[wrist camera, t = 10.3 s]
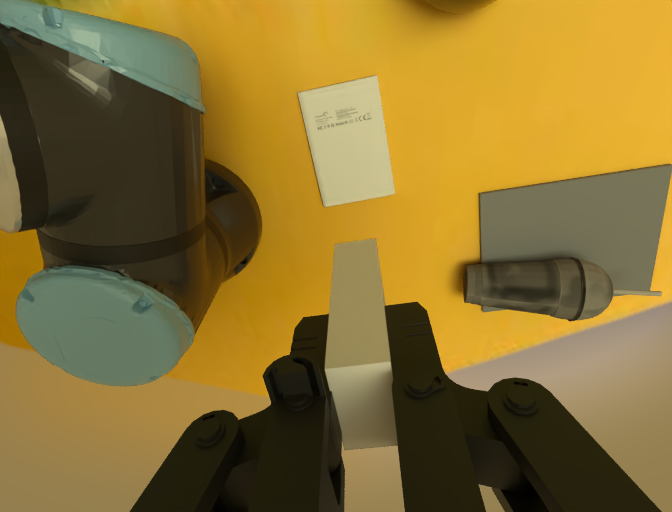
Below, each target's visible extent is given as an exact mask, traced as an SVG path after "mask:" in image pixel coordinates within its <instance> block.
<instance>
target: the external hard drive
mask: <svg viewBox="0 0 672 512" xmlns="http://www.w3.org/2000/svg"><path fill="white" fill-rule="evenodd" d="M298 97H299V101H300V105H301V110H302V115H303V119H304V123H305V128H306V132H307V137H308V141H309V145H310V149H311V154H312V158H313V162H314V167H315V171H316V175H317V180H318V184H319V188H320V192H321V197H322V201H323V205H324V207H329V206H334V205H340V204H345V203H351V202H356V201H362V200H367V199H372V198H378V197H384V196H389V195H393V194H395V188H394V182H393V175H392V168H391V162H390V155H389V149H388V142H387V136H386V129H385V122H384V116H383V109H382V103H381V96H380V90H379V83H378V76H377V75H374V76H370V77H365V78H360V79H356V80H351V81H347V82H343V83H339V84H334V85H329V86H324V87H319V88H315V89H310V90H306V91H301V92H298Z"/></svg>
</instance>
